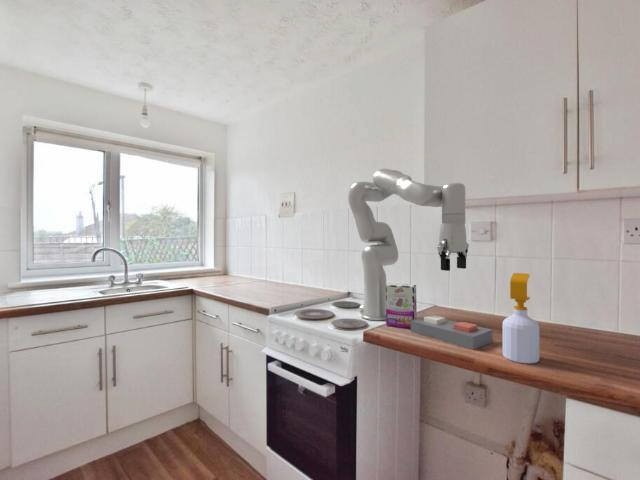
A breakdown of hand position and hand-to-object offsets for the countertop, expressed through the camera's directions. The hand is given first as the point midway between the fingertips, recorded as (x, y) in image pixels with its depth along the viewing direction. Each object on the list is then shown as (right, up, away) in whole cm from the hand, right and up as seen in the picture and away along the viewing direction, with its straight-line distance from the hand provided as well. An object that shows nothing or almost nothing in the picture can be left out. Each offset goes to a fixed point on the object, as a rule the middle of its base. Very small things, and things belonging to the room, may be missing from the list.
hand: (453, 269), depth 114 cm
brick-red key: (+3, -21, -3) cm, 21 cm away
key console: (-1, -24, +2) cm, 24 cm away
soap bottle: (+12, -24, -18) cm, 33 cm away
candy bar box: (-14, -24, +16) cm, 32 cm away
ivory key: (-4, -21, +7) cm, 22 cm away
